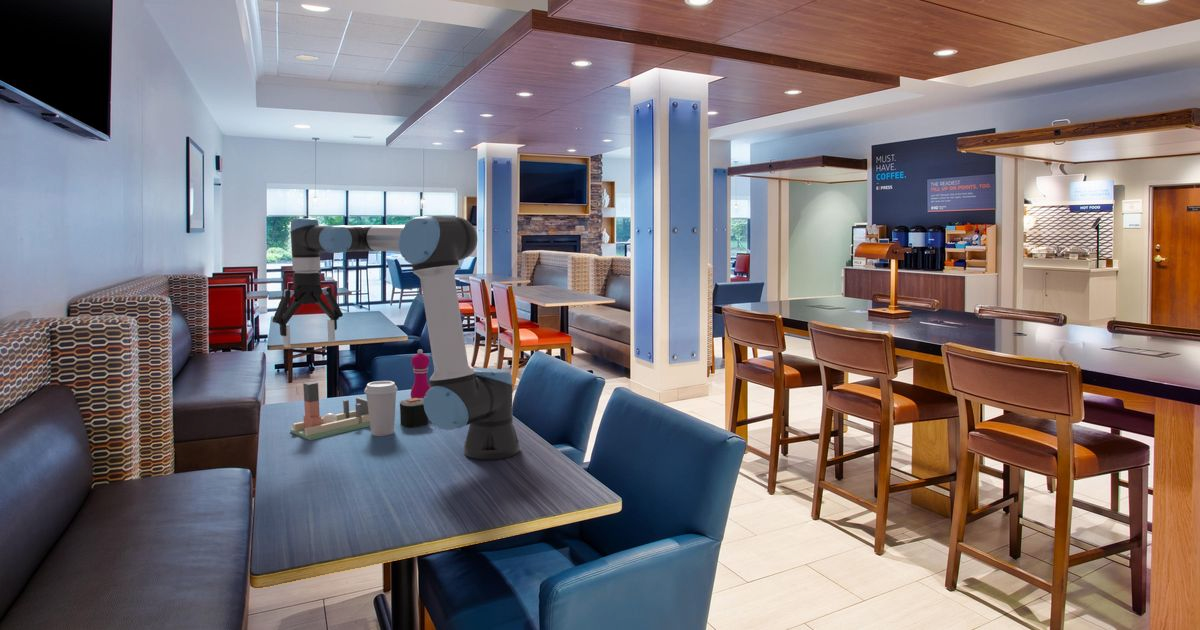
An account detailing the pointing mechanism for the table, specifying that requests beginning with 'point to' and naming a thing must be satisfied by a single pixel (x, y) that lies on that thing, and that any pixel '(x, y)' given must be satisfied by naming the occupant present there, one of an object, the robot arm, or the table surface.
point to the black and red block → (311, 405)
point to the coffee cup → (381, 406)
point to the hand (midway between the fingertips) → (309, 344)
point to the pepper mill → (420, 375)
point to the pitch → (337, 422)
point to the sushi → (413, 413)
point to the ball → (329, 418)
